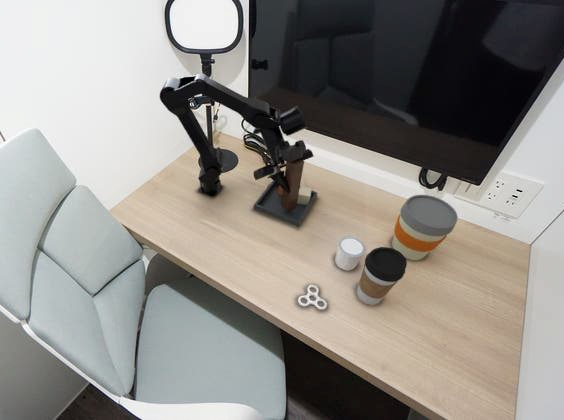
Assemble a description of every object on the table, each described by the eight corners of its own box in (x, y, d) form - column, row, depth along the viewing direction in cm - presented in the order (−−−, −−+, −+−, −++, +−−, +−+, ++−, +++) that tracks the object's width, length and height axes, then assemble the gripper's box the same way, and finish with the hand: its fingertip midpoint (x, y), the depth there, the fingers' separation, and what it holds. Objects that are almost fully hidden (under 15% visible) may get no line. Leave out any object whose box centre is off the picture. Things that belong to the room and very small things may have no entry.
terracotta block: (278, 194, 107) (279, 185, 104) (282, 187, 109) (283, 178, 106) (289, 197, 105) (291, 188, 102) (293, 190, 108) (294, 181, 105)
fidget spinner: (297, 305, 78) (297, 304, 77) (299, 283, 82) (299, 282, 82) (326, 311, 77) (327, 309, 76) (326, 288, 81) (327, 286, 80)
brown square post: (280, 205, 101) (286, 159, 88) (289, 201, 102) (296, 155, 89) (287, 211, 98) (294, 165, 86) (296, 207, 100) (304, 161, 87)
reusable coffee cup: (436, 241, 91) (461, 204, 81) (428, 272, 84) (455, 236, 73) (391, 225, 96) (409, 188, 86) (380, 253, 89) (399, 216, 78)
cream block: (296, 203, 103) (297, 194, 100) (297, 195, 106) (299, 186, 103) (308, 205, 102) (310, 196, 100) (309, 197, 105) (311, 188, 102)
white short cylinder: (341, 248, 90) (347, 232, 85) (363, 261, 87) (370, 245, 82) (328, 262, 87) (333, 246, 82) (350, 276, 84) (357, 261, 79)
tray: (253, 210, 102) (253, 204, 100) (274, 183, 112) (274, 178, 110) (298, 228, 96) (299, 222, 94) (316, 198, 106) (317, 192, 104)
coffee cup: (391, 309, 77) (415, 275, 66) (356, 309, 77) (374, 275, 66) (380, 280, 83) (400, 244, 72) (347, 280, 83) (363, 244, 72)
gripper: (260, 144, 82) (282, 199, 83) (314, 124, 89) (334, 175, 90) (244, 154, 93) (264, 203, 94) (293, 136, 99) (311, 182, 100)
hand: (294, 191), depth 94 cm, fingers closed on brown square post, 3 cm apart
